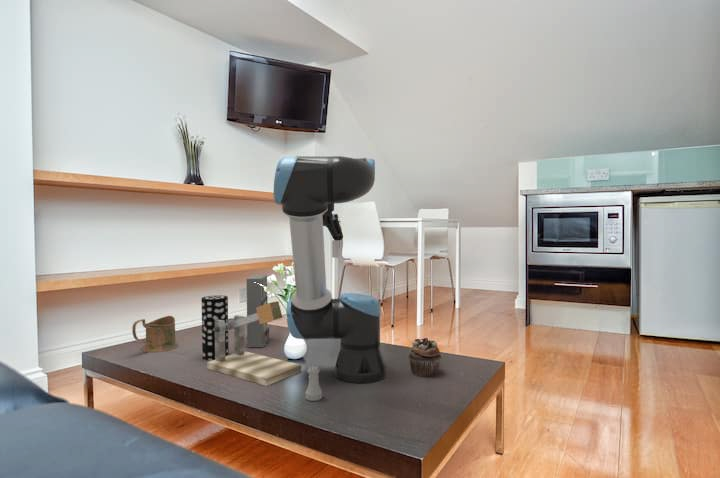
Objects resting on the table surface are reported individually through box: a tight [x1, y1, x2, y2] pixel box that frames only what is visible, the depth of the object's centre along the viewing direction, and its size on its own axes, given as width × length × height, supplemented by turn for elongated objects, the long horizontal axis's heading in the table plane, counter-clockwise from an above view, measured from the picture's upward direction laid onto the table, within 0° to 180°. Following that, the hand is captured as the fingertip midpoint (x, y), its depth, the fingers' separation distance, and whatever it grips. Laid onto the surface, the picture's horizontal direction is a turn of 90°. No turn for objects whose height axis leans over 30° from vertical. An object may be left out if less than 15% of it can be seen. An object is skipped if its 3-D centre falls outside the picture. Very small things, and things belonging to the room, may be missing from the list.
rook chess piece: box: [304, 364, 324, 402], centre depth 107 cm, size 4×4×8 cm
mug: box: [131, 315, 179, 353], centre depth 150 cm, size 12×18×12 cm, turn 162°
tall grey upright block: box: [246, 273, 270, 349], centre depth 159 cm, size 14×6×25 cm, turn 4°
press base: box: [206, 315, 302, 387], centre depth 128 cm, size 26×14×14 cm, turn 56°
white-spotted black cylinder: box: [201, 294, 230, 362], centre depth 142 cm, size 8×8×20 cm
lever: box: [225, 300, 283, 332], centre depth 129 cm, size 24×4×5 cm, turn 56°
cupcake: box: [408, 337, 442, 378], centre depth 126 cm, size 10×10×10 cm
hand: (324, 258), depth 154 cm, fingers open, 13 cm apart
